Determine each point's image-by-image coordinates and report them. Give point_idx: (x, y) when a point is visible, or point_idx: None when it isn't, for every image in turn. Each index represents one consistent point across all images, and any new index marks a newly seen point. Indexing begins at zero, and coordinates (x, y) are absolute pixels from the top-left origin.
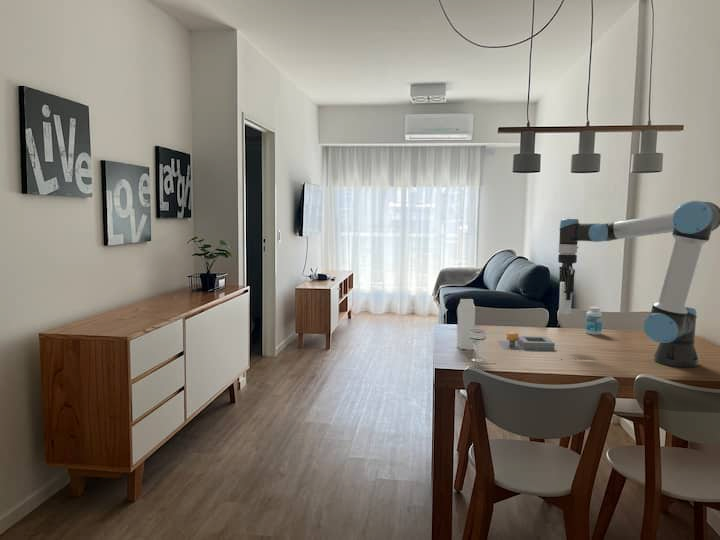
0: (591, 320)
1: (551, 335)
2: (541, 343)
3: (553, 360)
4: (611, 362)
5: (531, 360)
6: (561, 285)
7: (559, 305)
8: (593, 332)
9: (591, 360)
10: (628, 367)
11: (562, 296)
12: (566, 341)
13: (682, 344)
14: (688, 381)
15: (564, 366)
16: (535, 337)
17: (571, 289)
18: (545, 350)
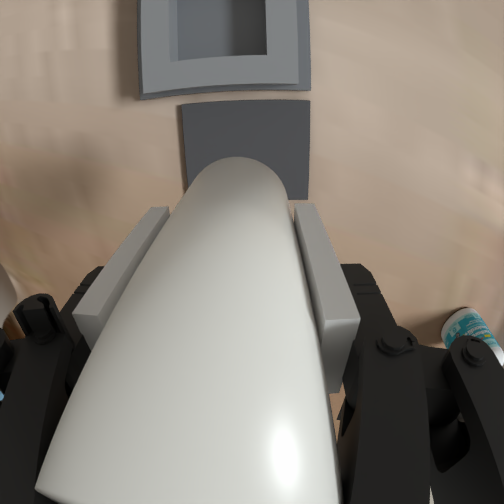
0: None
1: (467, 183)
2: (141, 35)
3: (47, 81)
4: (76, 257)
5: (41, 16)
6: (92, 409)
7: (224, 178)
8: (447, 325)
9: (77, 206)
10: (49, 279)
11: (148, 252)
12: (373, 204)
13: None
14: (17, 334)
15: (2, 113)
16: (267, 24)
17: (3, 393)
18: (140, 55)
